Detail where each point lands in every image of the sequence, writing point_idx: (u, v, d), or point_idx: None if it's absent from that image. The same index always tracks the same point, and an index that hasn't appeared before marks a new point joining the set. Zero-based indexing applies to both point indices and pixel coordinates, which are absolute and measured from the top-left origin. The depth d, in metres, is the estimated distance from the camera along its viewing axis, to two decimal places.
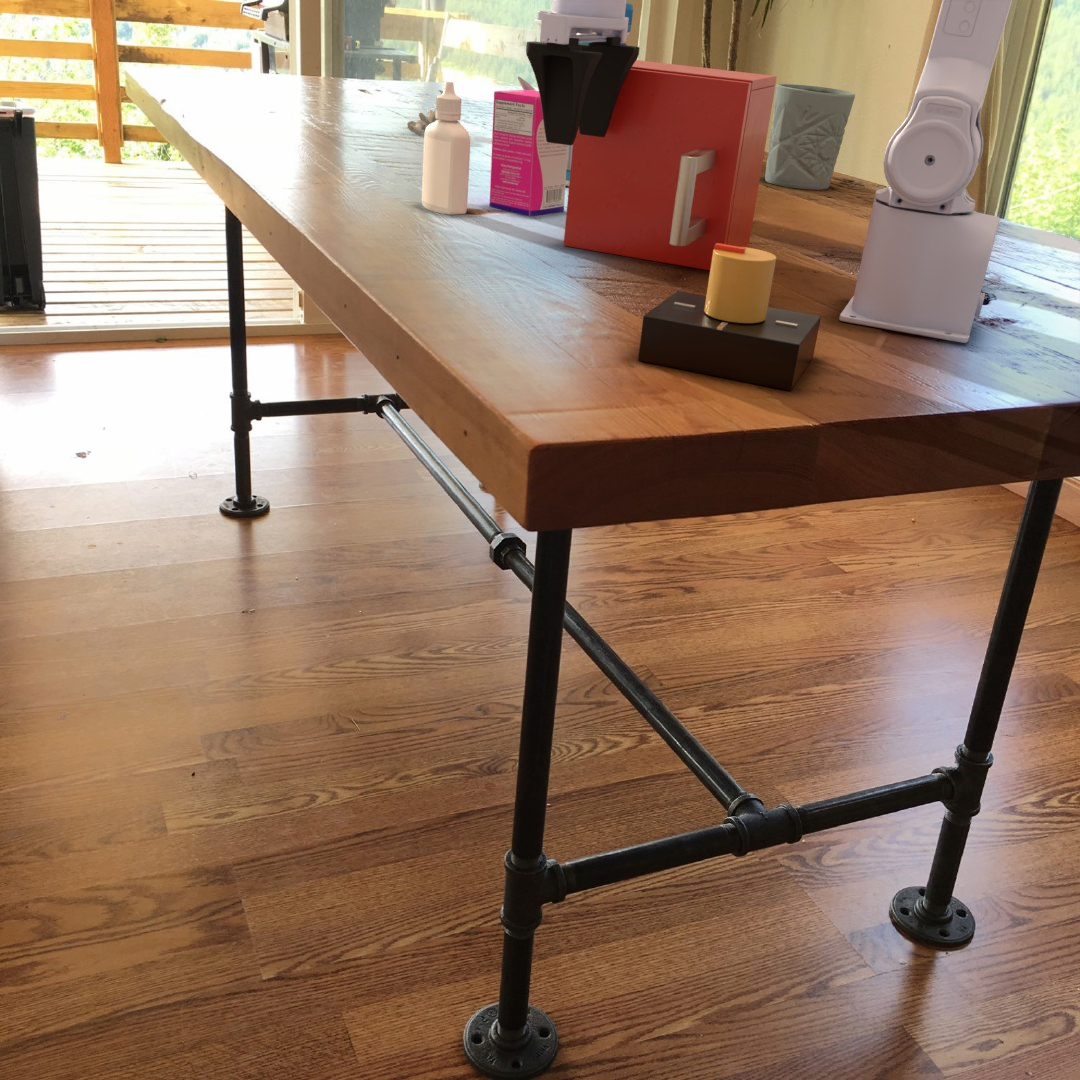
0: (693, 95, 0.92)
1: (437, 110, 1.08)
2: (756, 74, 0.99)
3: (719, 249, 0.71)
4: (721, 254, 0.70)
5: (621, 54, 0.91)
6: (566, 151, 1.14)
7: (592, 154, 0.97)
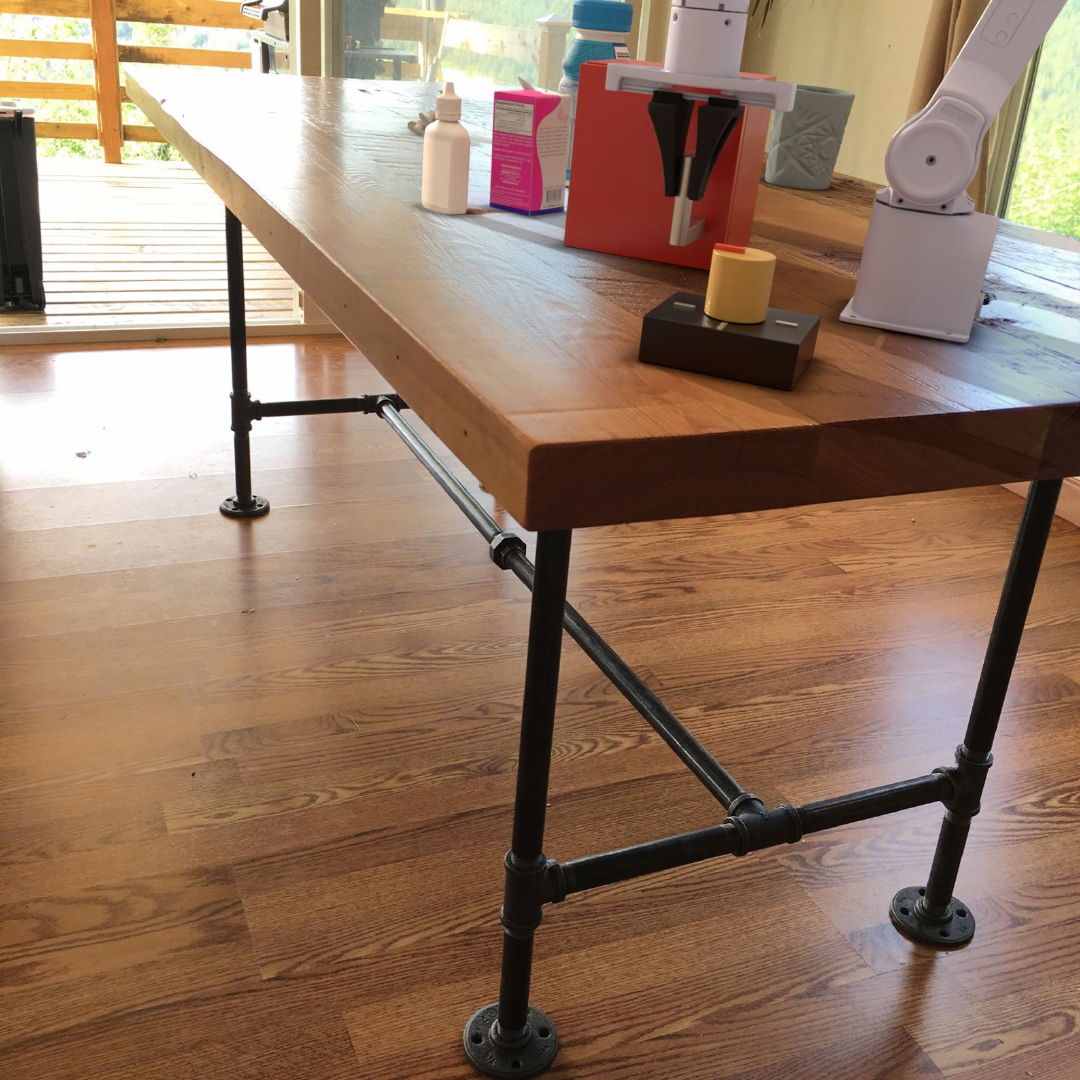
0: None
1: (437, 110, 1.08)
2: (756, 74, 0.99)
3: (719, 249, 0.71)
4: (721, 254, 0.70)
5: None
6: (566, 151, 1.14)
7: (592, 154, 0.97)
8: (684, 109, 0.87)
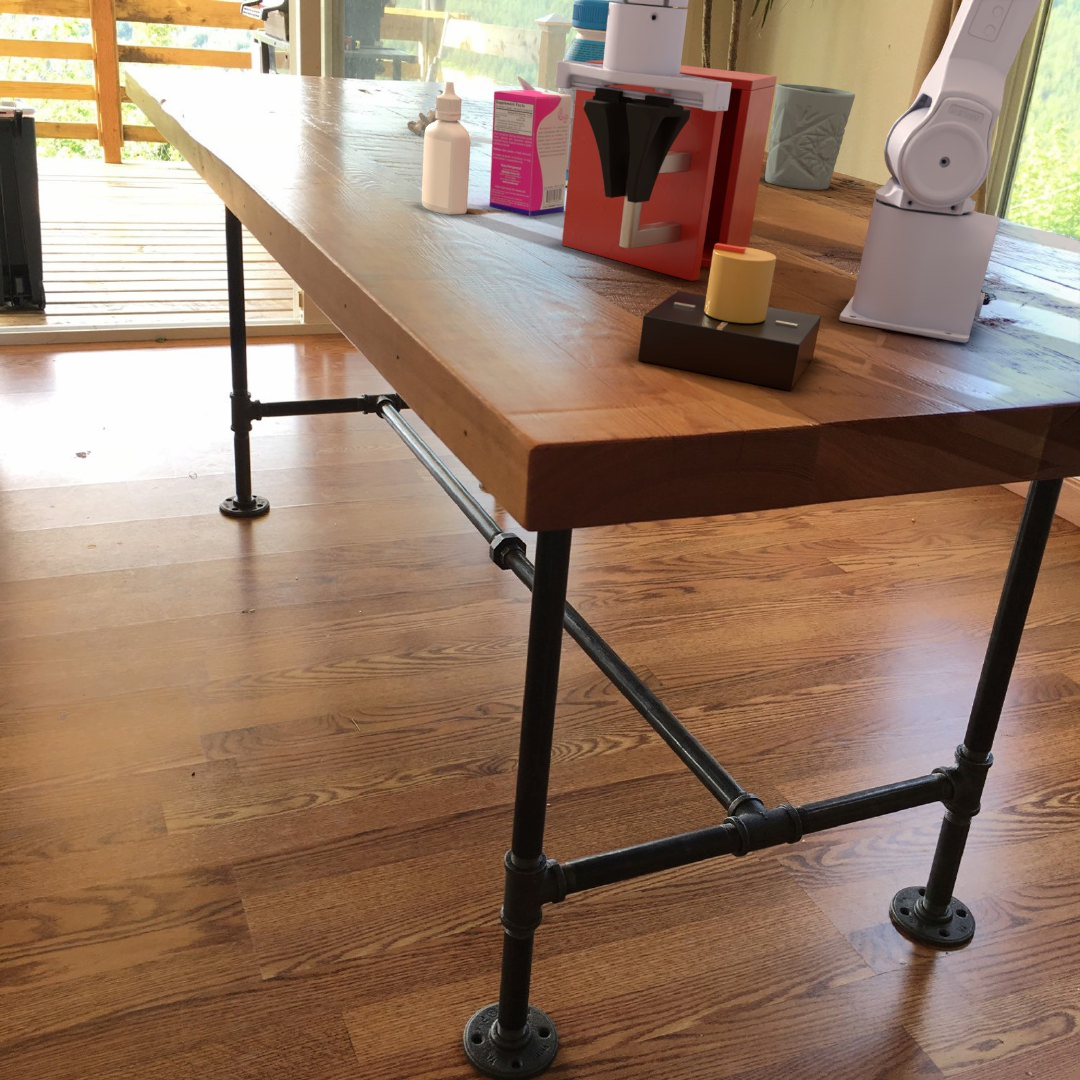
0: None
1: (437, 110, 1.08)
2: (756, 74, 0.99)
3: (719, 249, 0.71)
4: (721, 254, 0.70)
5: None
6: (566, 151, 1.14)
7: (586, 154, 0.97)
8: (625, 107, 0.85)
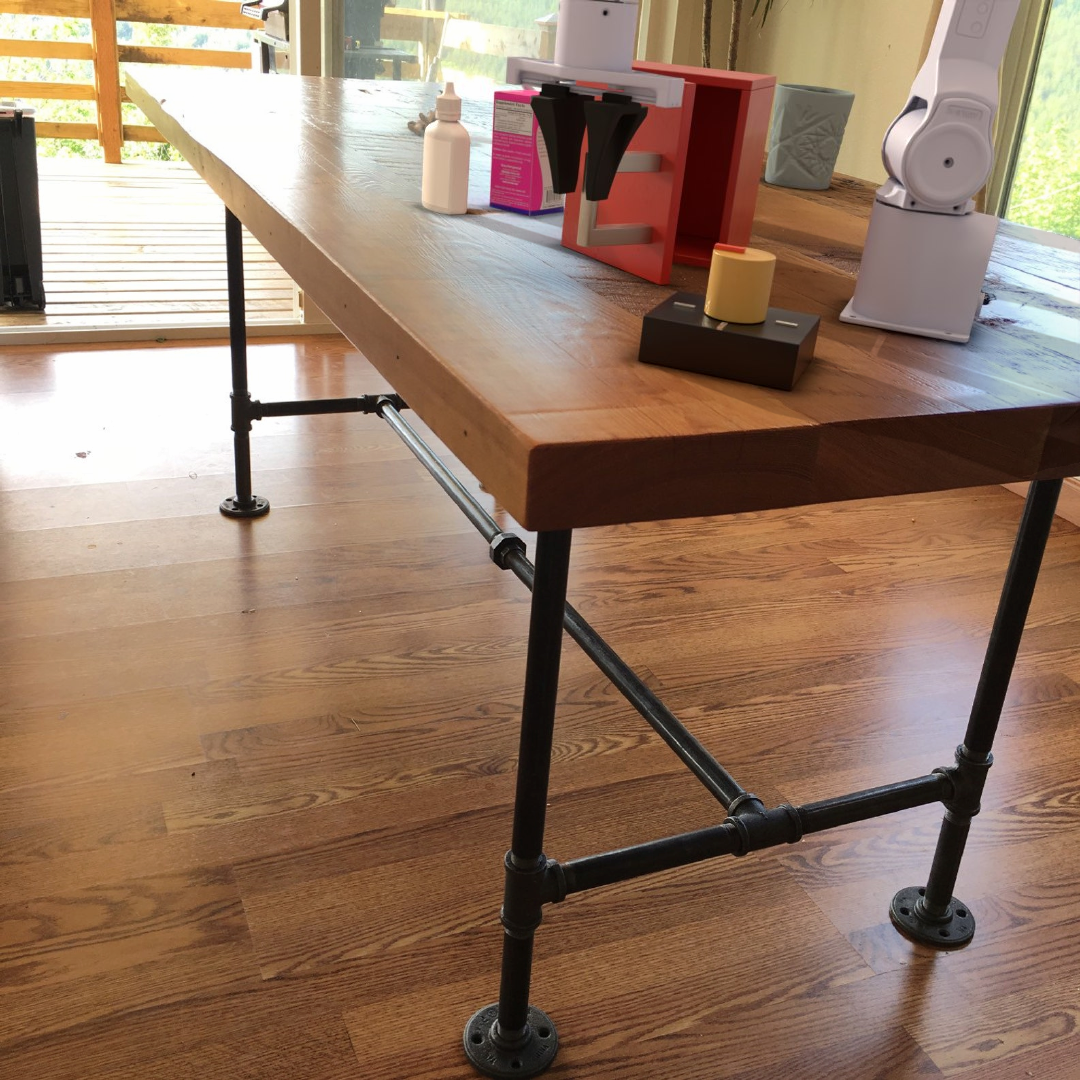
0: None
1: (437, 110, 1.08)
2: (756, 74, 0.99)
3: (719, 249, 0.71)
4: (721, 254, 0.70)
5: None
6: None
7: (581, 154, 0.97)
8: (572, 103, 0.84)
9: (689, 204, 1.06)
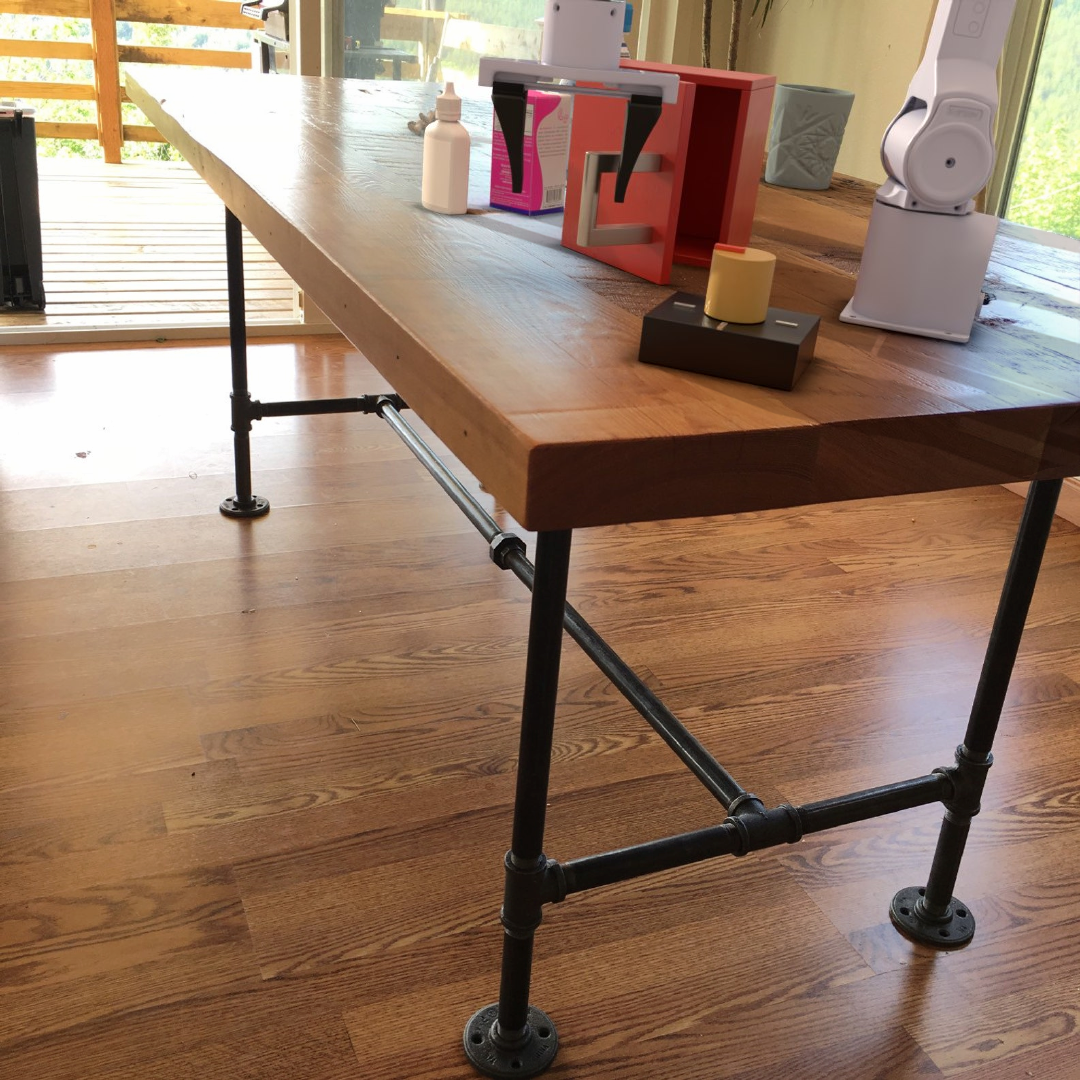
0: None
1: (438, 110, 1.08)
2: (756, 74, 0.99)
3: (719, 249, 0.71)
4: (721, 254, 0.70)
5: (627, 112, 0.81)
6: (566, 151, 1.14)
7: (581, 154, 0.97)
8: (525, 100, 0.83)
9: (689, 204, 1.06)
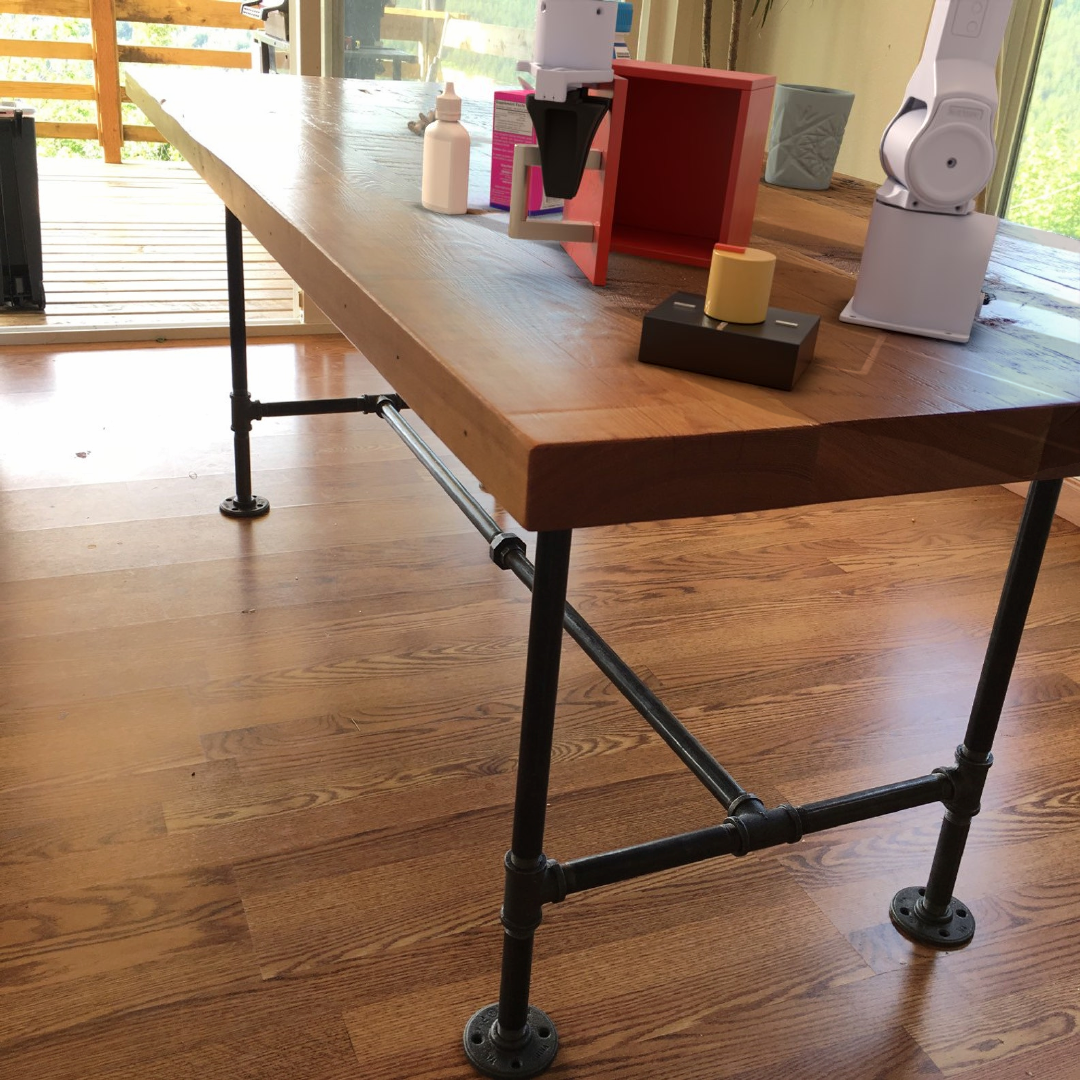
0: (600, 93, 0.87)
1: (437, 110, 1.08)
2: (756, 74, 0.99)
3: (719, 249, 0.71)
4: (721, 254, 0.70)
5: None
6: None
7: None
8: None
9: (689, 204, 1.06)
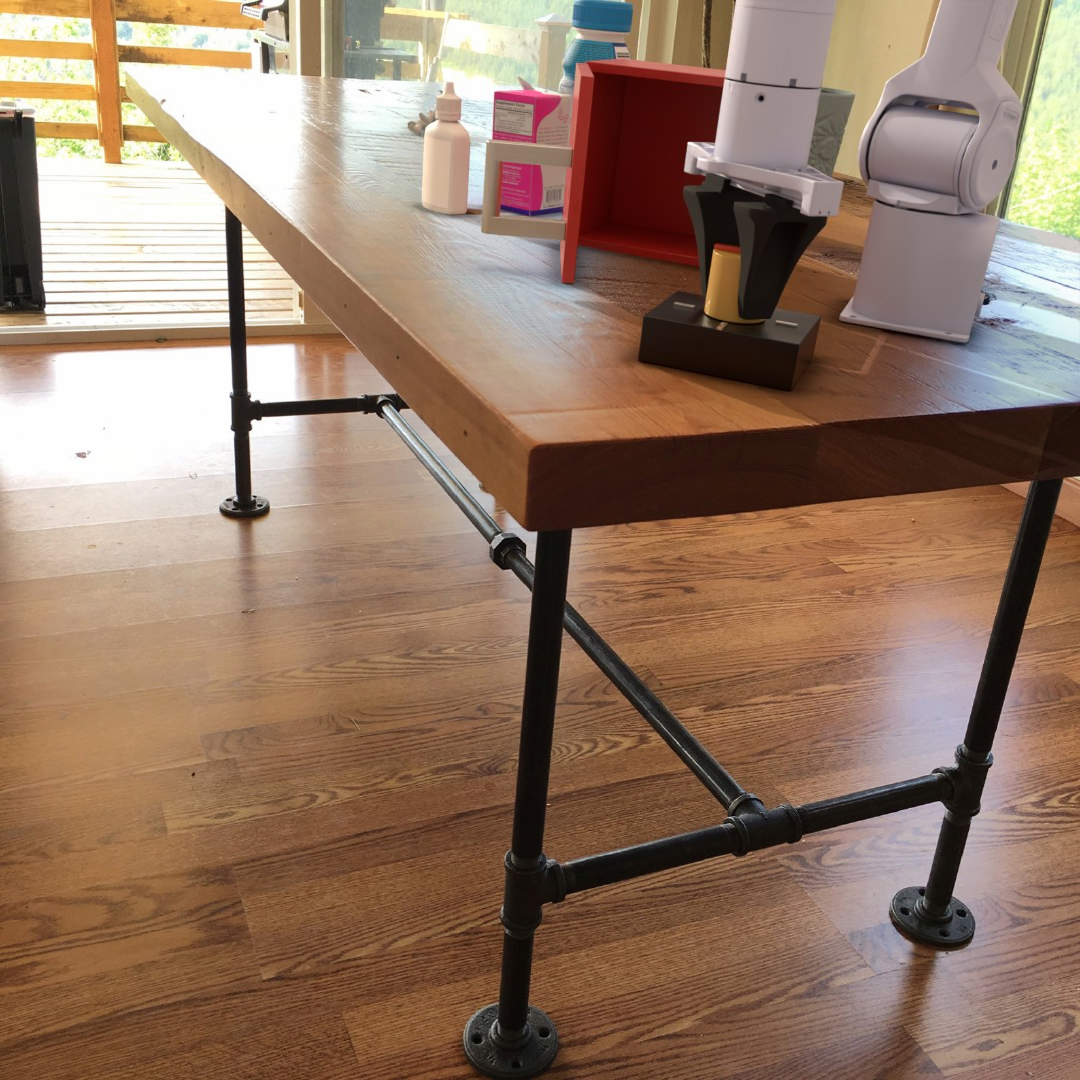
0: (577, 91, 0.87)
1: (437, 110, 1.08)
2: None
3: (719, 249, 0.71)
4: (721, 254, 0.70)
5: (758, 199, 0.72)
6: None
7: None
8: None
9: None
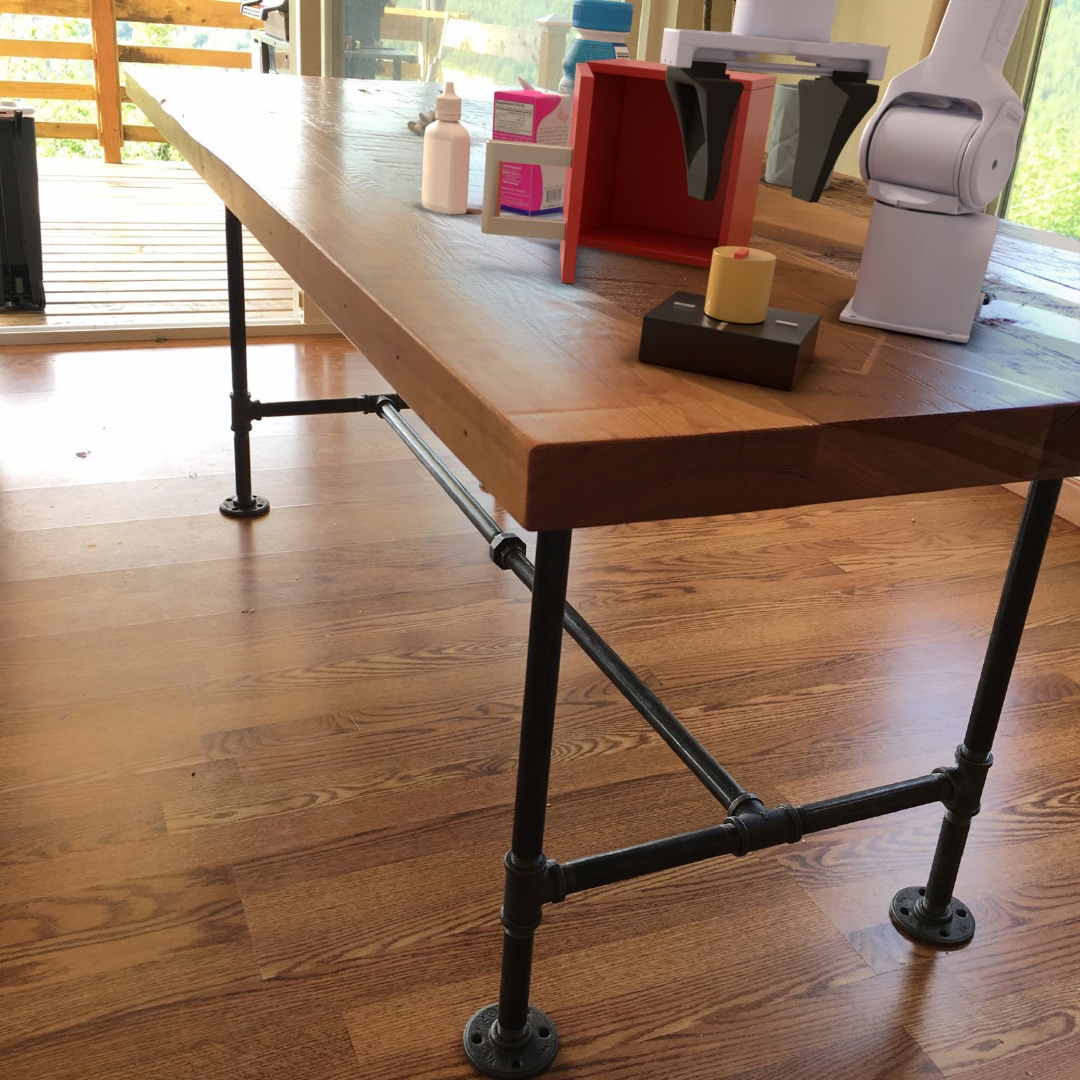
0: (577, 91, 0.87)
1: (437, 110, 1.08)
2: (756, 74, 0.99)
3: (744, 257, 0.70)
4: (763, 260, 0.70)
5: None
6: None
7: None
8: (822, 89, 0.68)
9: (689, 204, 1.06)
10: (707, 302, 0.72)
